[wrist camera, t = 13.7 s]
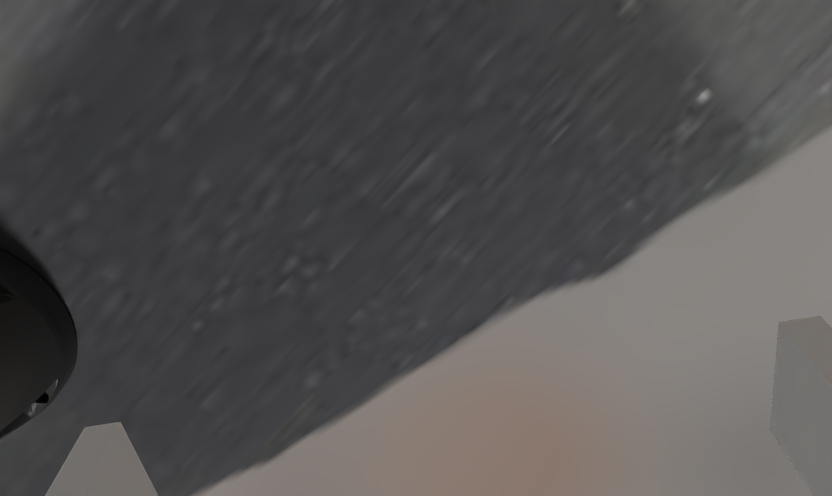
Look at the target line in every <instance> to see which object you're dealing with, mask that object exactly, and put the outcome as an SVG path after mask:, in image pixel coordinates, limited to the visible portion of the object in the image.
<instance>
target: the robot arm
mask: <svg viewBox="0 0 832 496" xmlns="http://www.w3.org/2000/svg"><path fill="white" fill-rule="evenodd" d="M76 357H77V340H76V334H75V330H74V327H73V324H72V321H71V319H70V316H69V314H68V312H67V310H66V308H65V307H64V305H63V303H62V302H61V300H60V299H59V298H58V296H57V295H56V294H55V292H54V291H53V290H52V289H51V288H50V286H49V285H48V284H47V283H46V282H45V281H44V280H43V279H42V278H41V277H40V276H39V275H37V274H36V273H35V272H34V271H33V270H31V269H30V268H29V267H28V266H26V265H25V264H23V263H22V262H21V261H19V260H18V259H16V258H14V257H13V256H11V255H9V254H8V253H6V252H4V251H2V250H0V439H2V438H3V437H5V436H7V435H8V434H10V433H11V432H13V431H14V430H16V429H17V428H19V427H20V426H22V425H23V424H25V423H26V422H28V421H29V420H31V419H32V418H34V417H35V416H37V415H38V414H39V413H41V412H42V411H43V410H44V409H45V408H46V407H47V406H48V405H49V404H50V403H51V402H52V401H53V400H54V399H55V397H56V396H57V395H58V393H59V392H60V390H61V389H62V388H63V386H64V385H65V383H66V382H67V381H68V379H69V377H70V376H71V374H72V372H73V369H74V366H75V363H76ZM770 430H771V432H772V434H773V435H774V437H775V438H776V440H777V441H778V443H779V445H780V446H781V448H782V449H783V451H784V452H785V454H786V455H787V457H788V458H789V460H790V461H791V463H792V465H793V466H794V467H795V469H796V471H797V472H798V474H799V475H800V477H801V478H802V480H803V481H804V483H805V485H806V486H807V488H808V489H809V491H810V492H811V494H812V495H813V496H832V328H831V327H830V326H829V325H828V324H827V323H826V321H825V320H824V319H823V318H822V317H821V316H816V317H810V318H803V319H797V320H790V321H783V322H779V326H778V338H777V351H776V362H775V374H774V387H773V398H772V410H771V422H770ZM45 496H158V494H157V493H156V491H155V489H154V487H153V485H152V483H151V481H150V479H149V477H148V475H147V473H146V471H145V469H144V467H143V465H142V463H141V461H140V459H139V457H138V455H137V454H136V452H135V450H134V448H133V446H132V444H131V442H130V440H129V438H128V436H127V434H126V432H125V430H124V428H123V426H122V424H121V422H117V423H110V424H104V425H97V426H90V427H85V428H84V430H83V431H82V433H81V435H80V436H79V438H78V440H77V442H76V443H75V445H74V447H73V448H72V450H71V452H70V454H69V455H68V457H67V459H66V461H65V462H64V464H63V466H62V467H61V469H60V471H59V473H58V474H57V476H56V478H55V480H54V481H53V483H52V485H51V486H50V488H49V490H48V492H47V493H46V495H45Z"/></svg>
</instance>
